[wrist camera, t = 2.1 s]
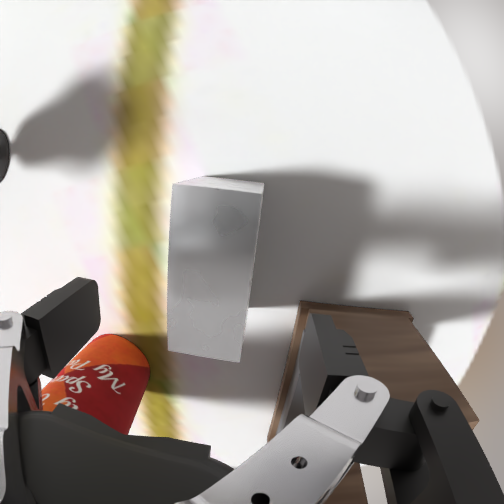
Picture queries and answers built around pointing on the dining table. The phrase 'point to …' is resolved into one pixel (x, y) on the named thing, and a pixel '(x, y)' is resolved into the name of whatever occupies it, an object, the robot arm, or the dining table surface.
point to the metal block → (211, 265)
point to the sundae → (3, 154)
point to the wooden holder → (368, 371)
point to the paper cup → (102, 382)
